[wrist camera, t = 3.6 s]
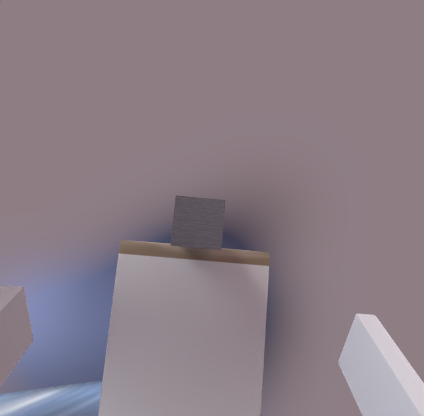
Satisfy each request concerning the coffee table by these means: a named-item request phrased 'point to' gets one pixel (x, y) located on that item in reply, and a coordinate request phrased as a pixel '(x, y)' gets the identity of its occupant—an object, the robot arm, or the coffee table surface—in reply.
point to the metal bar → (198, 223)
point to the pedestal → (186, 332)
